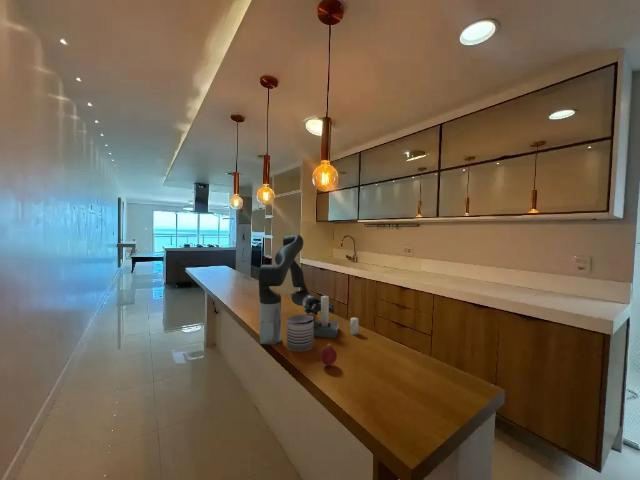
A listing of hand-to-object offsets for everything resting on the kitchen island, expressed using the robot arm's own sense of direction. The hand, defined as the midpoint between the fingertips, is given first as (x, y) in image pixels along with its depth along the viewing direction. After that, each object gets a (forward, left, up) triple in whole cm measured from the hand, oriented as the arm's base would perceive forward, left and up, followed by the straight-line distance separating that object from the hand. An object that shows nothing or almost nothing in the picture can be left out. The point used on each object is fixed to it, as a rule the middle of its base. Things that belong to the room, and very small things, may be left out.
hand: (325, 312), depth 131 cm
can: (-17, +8, -10) cm, 21 cm away
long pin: (0, 0, -10) cm, 10 cm away
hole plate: (0, 0, -10) cm, 10 cm away
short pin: (+1, -14, -10) cm, 17 cm away
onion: (-32, -6, -10) cm, 34 cm away
